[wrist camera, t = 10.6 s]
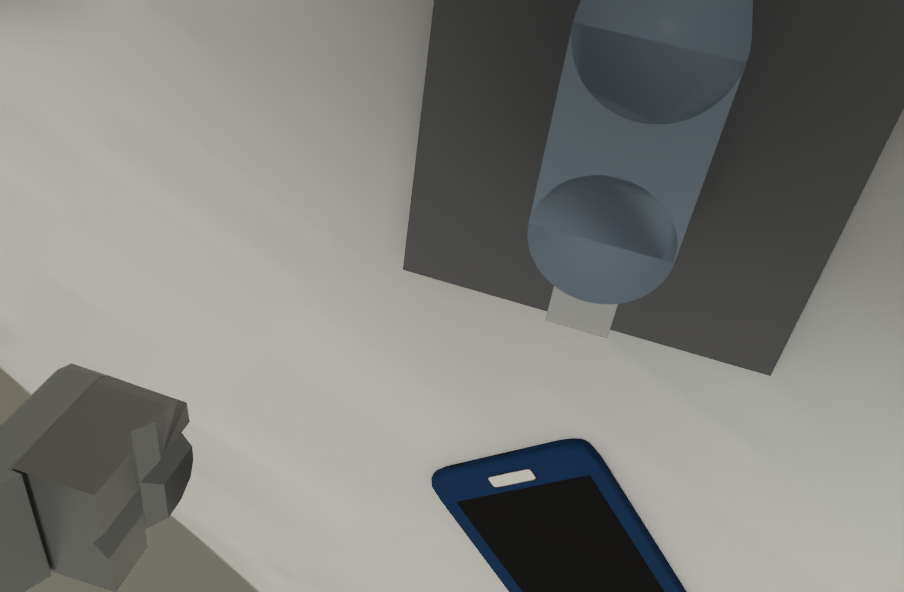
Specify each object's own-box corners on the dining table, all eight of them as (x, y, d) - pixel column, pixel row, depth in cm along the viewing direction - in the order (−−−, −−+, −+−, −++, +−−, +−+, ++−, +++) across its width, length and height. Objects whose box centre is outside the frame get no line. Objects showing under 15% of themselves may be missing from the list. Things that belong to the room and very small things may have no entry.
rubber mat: (480, -334, 18) (473, -335, 18) (1064, -236, 16) (1073, -234, 16) (408, 260, 28) (403, 269, 28) (770, 363, 26) (770, 375, 26)
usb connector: (657, -266, 17) (634, -258, 14) (832, -235, 17) (848, -220, 14) (533, 265, 26) (502, 342, 23) (647, 297, 25) (632, 381, 22)
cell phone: (588, 427, 30) (585, 441, 30) (736, 663, 35) (735, 679, 35) (428, 464, 34) (422, 478, 34) (582, 673, 39) (579, 688, 39)
